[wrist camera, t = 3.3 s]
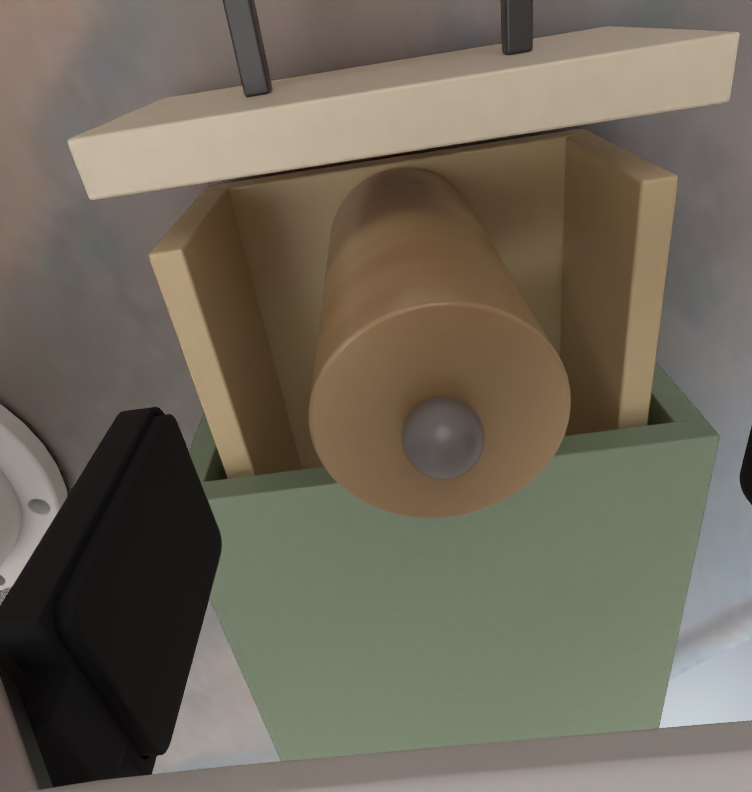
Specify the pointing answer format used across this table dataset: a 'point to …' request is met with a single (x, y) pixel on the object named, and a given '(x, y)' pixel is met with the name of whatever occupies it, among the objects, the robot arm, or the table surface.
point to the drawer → (410, 131)
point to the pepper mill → (428, 357)
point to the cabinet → (465, 595)
